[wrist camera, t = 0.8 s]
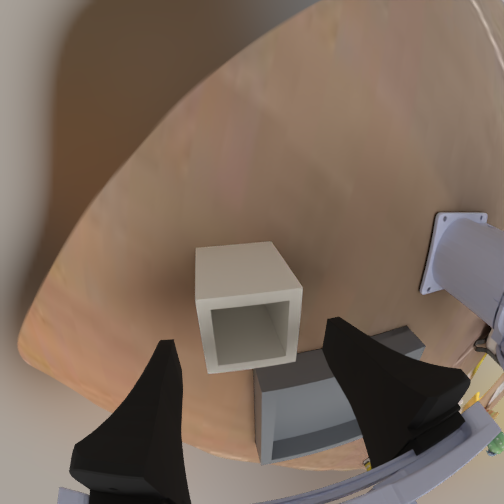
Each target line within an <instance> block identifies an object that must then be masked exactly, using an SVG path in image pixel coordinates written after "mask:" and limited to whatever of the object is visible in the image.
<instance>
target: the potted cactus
mask: <svg viewBox="0 0 504 504" xmlns="http://www.w3.org/2000/svg"><path fill="white" fill-rule="evenodd" d="M484 409H485V410H486V408H484ZM486 411H487V412H488V413H489V415H490V416H491V417H492V418H493V420H494V419H495V418H496V417H497V416H498V414H499V413H498V412H493V411H492V410H486ZM487 446H488V448H489V449H488V451H486V452H487V454H488V455H489V456H495V455H496V454H500V453H501V452H502V451H503V450H504V433H503V432H500V433H499V434H498V435H497V436H496V437H495V438H494V439H493V440H492V441H491V442H490V443H489V444H488V445H487Z"/></svg>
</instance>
